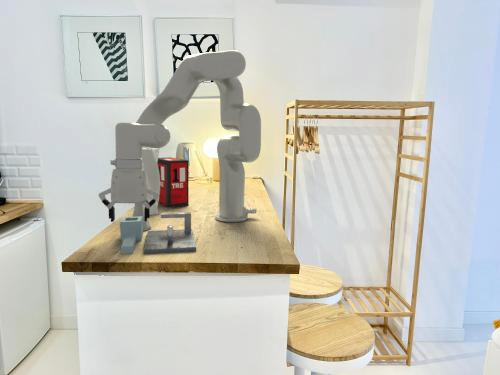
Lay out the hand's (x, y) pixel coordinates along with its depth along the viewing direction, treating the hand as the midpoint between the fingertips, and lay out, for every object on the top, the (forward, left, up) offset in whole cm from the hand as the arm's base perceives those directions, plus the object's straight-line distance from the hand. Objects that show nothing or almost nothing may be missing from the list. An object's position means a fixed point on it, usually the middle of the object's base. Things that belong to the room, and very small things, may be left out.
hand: (129, 220), depth 110 cm
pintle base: (-12, +6, -6) cm, 14 cm away
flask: (-2, -10, -6) cm, 12 cm away
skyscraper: (-5, -32, -6) cm, 33 cm away
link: (-1, +5, -6) cm, 8 cm away
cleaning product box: (-12, -50, -6) cm, 52 cm away
